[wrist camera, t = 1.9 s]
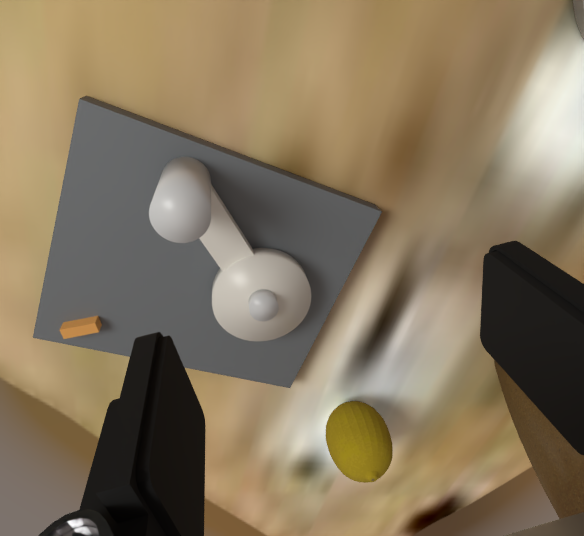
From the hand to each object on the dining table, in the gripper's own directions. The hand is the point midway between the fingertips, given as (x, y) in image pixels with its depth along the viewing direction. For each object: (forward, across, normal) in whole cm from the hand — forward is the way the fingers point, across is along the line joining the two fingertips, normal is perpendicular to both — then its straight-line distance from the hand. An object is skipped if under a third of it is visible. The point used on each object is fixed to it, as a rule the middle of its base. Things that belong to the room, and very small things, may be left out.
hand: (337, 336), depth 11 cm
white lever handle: (+18, +3, +6) cm, 19 cm away
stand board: (+20, +6, +7) cm, 22 cm away
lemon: (+20, -3, +25) cm, 32 cm away
